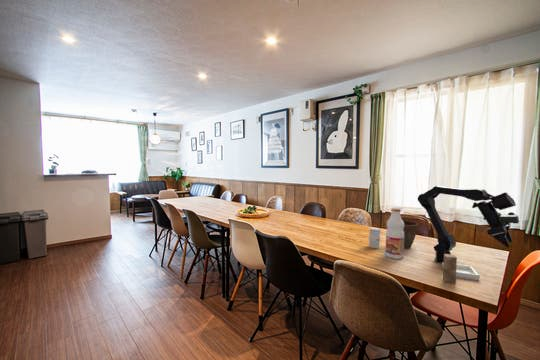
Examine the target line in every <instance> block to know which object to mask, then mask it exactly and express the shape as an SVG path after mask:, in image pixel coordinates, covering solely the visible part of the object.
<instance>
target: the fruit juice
mask: <svg viewBox="0 0 540 360" xmlns="http://www.w3.org/2000/svg"><path fill="white" fill-rule="evenodd" d="M390 211H391V213H390V217H389V218H388V220H386V228H387V229H386V231H385V232H386V233H385V256H386V257H387V258H391V259H395V260H396V259H397V260H401V259H404V250H405V248H404V231H403V228H404V222H403V219H402V217H401V208H396V207H393V208H391V209H390Z"/></svg>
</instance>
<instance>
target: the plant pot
mask: <svg viewBox="0 0 540 360" xmlns="http://www.w3.org/2000/svg"><path fill="white" fill-rule="evenodd" d="M402 220H403V219H402ZM403 222H404V228H403V231H404V249H411V248H412V246H413V243H414V241H415V238H416V236H417V233H418V227H419V223H418V222H416V221H412V220H411V221H410V220H406V219H405V220H403Z"/></svg>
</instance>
